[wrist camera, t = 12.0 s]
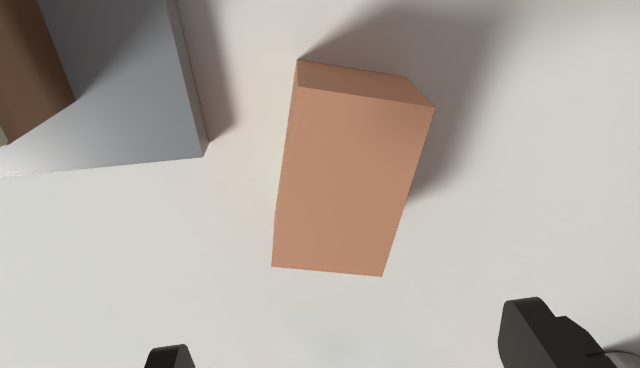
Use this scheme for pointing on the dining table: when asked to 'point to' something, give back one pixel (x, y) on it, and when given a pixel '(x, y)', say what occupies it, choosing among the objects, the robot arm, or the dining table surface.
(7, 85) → the walnut brick
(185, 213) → the dining table surface
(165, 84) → the baseplate
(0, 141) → the sage brick
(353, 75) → the terracotta brick
